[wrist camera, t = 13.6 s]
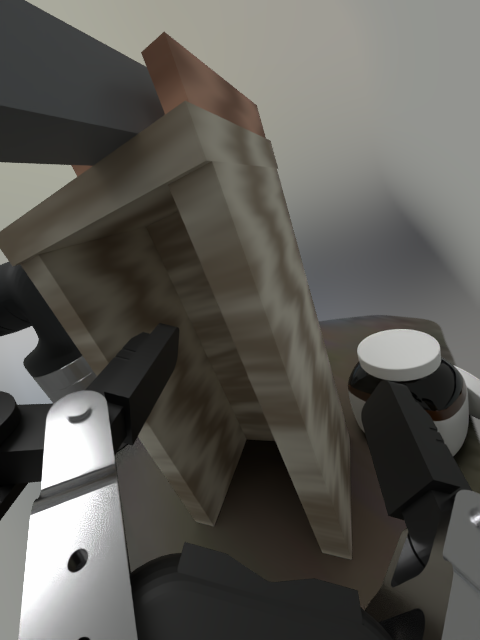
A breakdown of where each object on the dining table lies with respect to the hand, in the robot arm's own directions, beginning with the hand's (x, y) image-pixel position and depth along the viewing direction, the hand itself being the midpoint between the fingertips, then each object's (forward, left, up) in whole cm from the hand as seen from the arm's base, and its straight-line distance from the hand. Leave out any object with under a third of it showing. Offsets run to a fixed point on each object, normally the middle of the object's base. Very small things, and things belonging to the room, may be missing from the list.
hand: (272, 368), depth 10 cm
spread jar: (+11, +15, -22) cm, 29 cm away
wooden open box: (-6, +11, -22) cm, 25 cm away
